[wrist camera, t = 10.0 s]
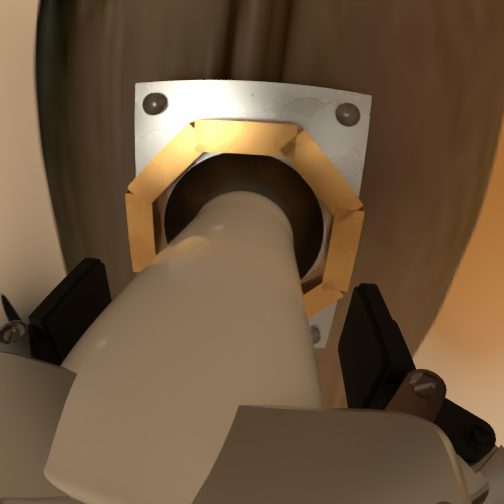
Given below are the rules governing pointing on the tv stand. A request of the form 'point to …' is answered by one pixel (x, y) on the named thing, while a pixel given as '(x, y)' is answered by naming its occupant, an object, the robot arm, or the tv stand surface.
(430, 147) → the tv stand surface
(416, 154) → the tv stand surface
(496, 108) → the tv stand surface
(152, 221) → the octagon ring knob plate
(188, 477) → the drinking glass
